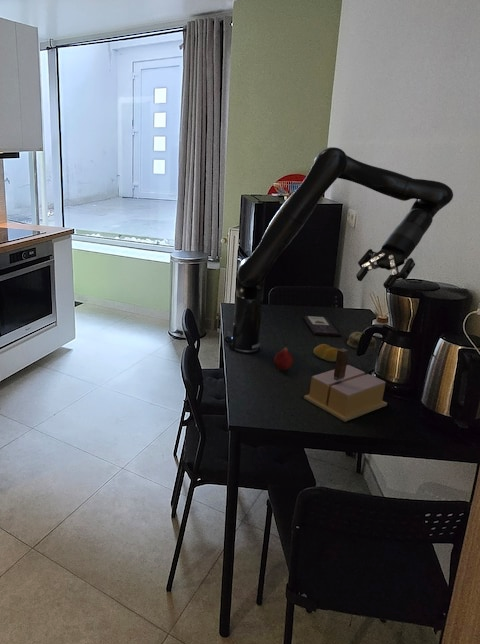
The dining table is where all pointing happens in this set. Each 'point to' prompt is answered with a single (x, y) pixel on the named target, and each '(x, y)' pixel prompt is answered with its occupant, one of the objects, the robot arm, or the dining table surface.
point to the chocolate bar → (321, 326)
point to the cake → (347, 393)
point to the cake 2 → (355, 339)
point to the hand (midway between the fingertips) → (371, 283)
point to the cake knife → (340, 365)
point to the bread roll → (326, 352)
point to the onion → (283, 359)
